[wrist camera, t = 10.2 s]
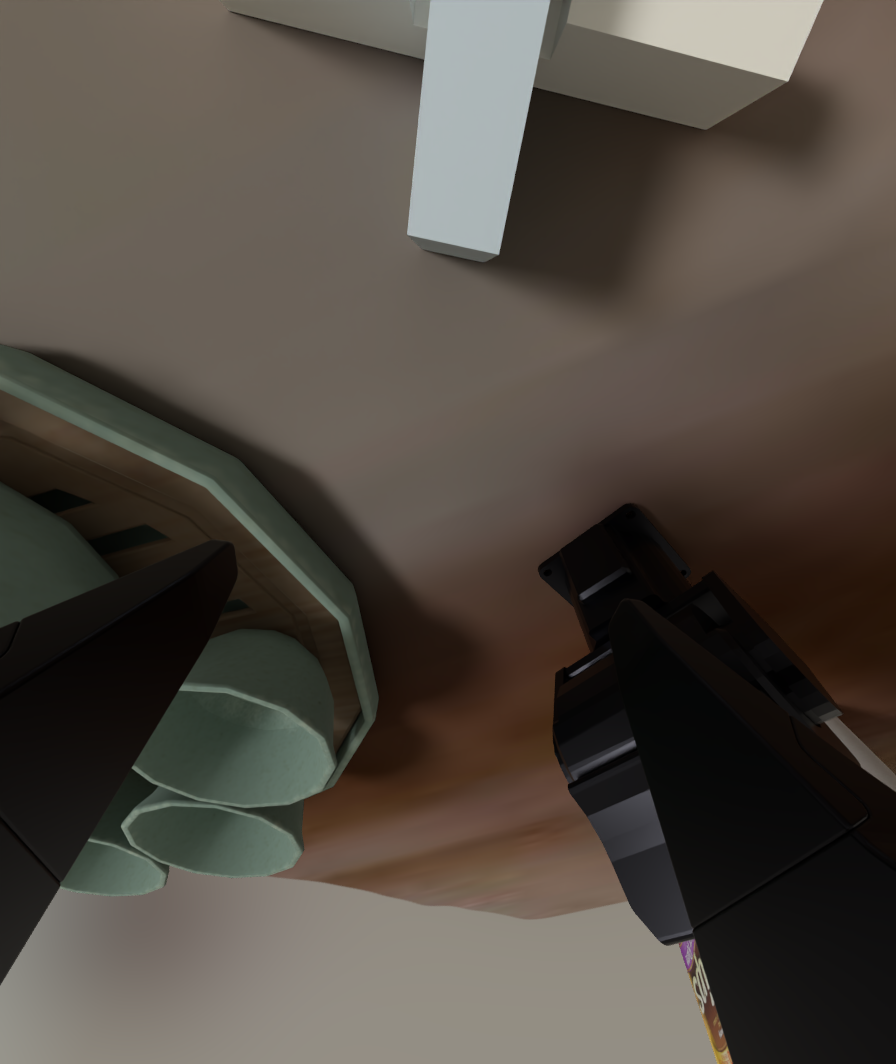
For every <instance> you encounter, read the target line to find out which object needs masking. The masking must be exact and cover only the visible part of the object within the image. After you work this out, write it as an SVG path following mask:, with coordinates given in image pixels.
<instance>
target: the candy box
mask: <svg viewBox="0 0 896 1064" xmlns="http://www.w3.org/2000/svg"><path fill="white" fill-rule="evenodd" d="M679 947H680V949H681V953H682V956H683V959H684V962H685V965H686V968H687V971H688V974H689V978H690V981H691V984H692V987H693V990H694V993H695V996H696V999H697V1002H698V1005H699V1008H700V1011H701V1014H702V1017H703V1020H704V1023H705V1027H706V1029H707V1033H708V1036H709V1039H710V1042H711V1045H712V1048H713V1051H714V1054H715V1058H716V1061H717V1064H733V1063H732V1060H731V1057H730V1053H729V1050H728V1047H727V1043H726V1040H725V1037H724V1034H723V1030H722V1027H721V1024H720V1020H719V1017H718V1014H717V1011H716V1007H715V1004H714V1001H713V997H712V994H711V991H710V988H709V984H708V981H707V978H706V974H705V971H704V968H703V965H702V961H701V958H700V955H699V951H698V948H697V945H696V942H695V939H694V940H690V941H686V942H681V943H679Z"/></svg>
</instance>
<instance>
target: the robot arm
mask: <svg viewBox="0 0 896 1064" xmlns="http://www.w3.org/2000/svg"><path fill="white" fill-rule="evenodd" d="M630 511H633V512H632V514H631V515H628V516H626V514H627V513H628V512H630ZM547 569H550V571H548V572H544V571H545V570H547ZM681 570H682V571H681ZM680 571H681V572H680ZM538 572H539V575H540V577H541V578H542V579H543V580H544V581H545V582H547V583H548V584H549V585H550V586H551V587H552V588H553V589H554V590H555V591H557V592H558V593H559V594H560V595H561V596H562V597H563V598H564V599H565V600H567V601H568V602H569V603H570V604H571V605H572V606H573V607H574V609H575V612H576V615H577V617H578V620H579V623H580V625H581V628H582V631H583V634H584V636H585V639H586V642H587V644H588V647H589V650H590V653H589V654H588V655H586V656H585V657H583V658H582V659H580V660H579V661H577V662H575V663H574V664H572V665H571V666H569V667H568V668H566V667H564V668H562V669H561V670H559V671H558V672H556V675H555V696H554V718H553V744H554V751H555V755H556V757H557V759H558V762H559V764H560V767H561V769H562V771H563V773H564V775H565V777H566V779H567V781H568V782H569V784H568V790H569V792H570V794H571V795H572V797H573V798H574V799H575V801H576V802H577V803H578V805H579V806H580V808H581V809H582V810H583V812H584V813H585V814H586V816H587V817H588V819H589V821H590V822H591V824H592V826H593V828H594V829H595V831H596V833H597V834H598V836H599V838H600V840H601V841H602V843H603V845H604V848H605V850H606V852H607V854H608V856H609V858H610V860H611V862H612V865H613V867H614V869H615V872H616V874H617V876H618V879H619V881H620V883H621V885H622V888H623V890H624V892H625V895H626V897H627V899H628V902H629V904H630V906H631V908H632V909H633V911H634V912H635V914H636V915H637V916H638V917H639V918H640V919H641V921H643V923H644V924H645V925H646V926H647V927H648V929H649V930H650V931H651V932H652V933H653V934H654V936H655V937H656V938H657V939H658V940H659V941H660V942H661V943H662V944H664V945H667V946H669V945H673V944H677V943H681V942H686V941H690V940H694V939H695V942H696V945H697V948H698V951H699V955H700V958H701V961H702V965H703V968H704V971H705V974H706V978H707V981H708V984H709V988H710V991H711V994H712V997H713V1001H714V1004H715V1007H716V1011H717V1014H718V1017H719V1020H720V1024H721V1027H722V1030H723V1034H724V1037H725V1040H726V1043H727V1047H728V1050H729V1053H730V1057H731V1060H732V1063H733V1064H896V792H895V791H894V790H893V789H891V788H890V787H888V786H887V785H885V784H884V783H883V782H881V781H880V780H878V779H877V778H876V777H874V776H873V775H871V774H870V773H869V772H867V771H866V770H864V769H863V768H862V767H861V765H860V763H859V761H858V760H857V759H856V757H855V756H854V755H853V754H852V753H851V751H850V750H849V749H848V748H847V747H846V746H845V745H844V743H843V742H842V741H841V740H840V739H839V738H838V737H837V735H836V734H835V733H834V732H833V731H832V730H831V729H830V728H829V726H828V725H827V724H826V723H825V722H826V721H828V720H831V719H833V718H835V717H838V716H840V715H842V714H843V712H842V711H841V709H840V708H839V707H838V705H837V704H836V703H835V702H834V700H833V699H832V698H831V696H830V695H829V694H828V692H827V691H826V690H825V689H824V687H823V686H822V685H821V683H820V682H819V681H818V680H817V678H816V677H815V676H814V674H813V673H812V672H811V670H810V669H809V668H808V667H807V665H806V664H805V663H804V662H803V661H802V660H801V659H800V658H799V657H798V656H797V655H796V654H795V652H794V651H793V650H792V649H791V648H790V647H789V646H788V645H787V644H786V643H785V642H784V641H783V640H782V639H781V637H780V636H779V635H778V634H777V633H776V632H775V631H774V630H773V629H772V628H771V627H770V626H769V625H768V624H767V623H766V622H765V621H764V620H763V619H762V618H761V617H760V616H759V615H758V614H757V613H756V612H755V611H754V610H753V609H752V608H751V607H750V606H749V605H748V604H747V603H746V602H745V601H744V600H743V599H742V598H741V597H740V596H739V595H738V594H737V593H736V592H735V591H734V590H733V589H732V588H731V587H729V586H728V585H727V584H726V583H725V582H724V581H723V580H722V579H721V578H720V577H719V576H718V575H717V574H716V573H715V572H714V571H711V572H710V573H708V574H707V575H705V576H704V577H702V579H703V580H702V581H701V582H699V583H698V584H696V585H694V586H693V587H692V586H691V585H690V584H689V583H688V581H687V580H686V578H687V577H688V576H689V575H690V573H691V570H690V568H689V567H688V566H687V565H686V563H685V562H684V561H683V560H682V559H681V558H680V556H679V555H678V554H677V553H676V552H675V551H674V549H673V548H672V547H671V546H670V545H669V544H668V542H667V541H666V540H665V539H664V538H663V537H662V535H661V534H660V533H659V532H658V531H657V530H656V528H655V527H654V526H653V525H652V524H651V522H650V521H649V520H648V519H647V518H646V517H645V515H644V514H643V513H642V512H641V511H640V510H639V508H638V507H637V506H636V505H634V504H631V503H629V504H625V505H623V506H622V507H621V508H619V509H618V510H616V511H615V512H613V513H612V514H611V515H609V516H608V517H606V518H605V519H604V520H602V521H601V522H599V523H598V524H596V525H594V526H593V527H591V528H590V529H589V530H587V531H586V532H584V533H583V534H581V535H580V536H579V537H577V538H576V539H574V540H573V541H572V542H570V543H569V544H567V545H566V546H565V547H563V548H562V549H561V550H560V551H559V552H557V553H556V554H554V555H553V556H552V557H550V558H549V559H547V560H546V561H544V562H543V563H542V564H541V565H540V566H539V567H538ZM237 577H238V568H237V560H236V553H235V547H234V545H233V543H232V542H230V541H223V540H217V539H212V540H209V541H207V542H204V543H202V544H199V545H197V546H195V547H192V548H190V549H187V550H185V551H183V552H180V553H178V554H176V555H173V556H171V557H168V558H166V559H164V560H161V561H159V562H156V563H154V564H152V565H149V566H147V567H144V568H142V569H140V570H137V571H135V572H133V573H130V574H128V575H125V576H123V577H121V578H118V579H116V580H113V581H111V582H109V583H106V584H104V585H101V586H99V587H97V588H94V589H92V590H89V591H87V592H85V593H82V594H80V595H78V596H75V597H73V598H70V599H68V600H66V601H63V602H61V603H58V604H56V605H54V606H51V607H49V608H46V609H44V610H42V611H39V612H37V613H35V614H32V615H30V616H27V617H25V618H23V619H22V620H21V622H19V621H15V622H13V623H10V624H8V625H6V626H3V627H1V628H0V985H1V983H2V982H3V980H4V978H5V977H6V975H7V973H8V972H9V970H10V968H11V967H12V965H13V964H14V962H15V960H16V959H17V957H18V955H19V954H20V952H21V950H22V949H23V947H24V945H25V944H26V942H27V940H28V939H29V937H30V935H31V934H32V932H33V931H34V928H35V927H36V926H37V924H38V922H39V921H40V919H41V917H42V916H43V914H44V912H45V911H46V909H47V908H48V906H49V904H50V903H51V901H52V899H53V898H54V896H55V894H56V893H57V891H58V889H59V888H60V886H61V884H60V882H62V881H63V880H64V879H65V877H66V876H67V874H68V872H69V871H70V869H71V867H72V866H73V864H74V862H75V861H76V859H77V857H78V856H79V854H80V853H81V851H82V849H83V848H84V846H85V844H86V843H87V841H88V839H89V838H90V836H91V834H92V833H93V831H94V829H95V828H96V826H97V825H98V823H99V821H100V820H101V818H102V816H103V815H104V813H105V811H106V810H107V808H108V806H109V805H110V803H111V801H112V800H113V798H114V797H115V795H116V793H117V792H118V790H119V788H120V787H121V785H122V783H123V782H124V780H125V778H126V777H127V775H128V773H129V772H130V770H131V769H132V767H133V765H134V764H135V762H136V760H137V759H138V757H139V755H140V754H141V752H142V750H143V749H144V747H145V745H146V744H147V742H148V741H149V739H150V737H151V736H152V734H153V732H154V731H155V729H156V727H157V726H158V724H159V722H160V721H161V719H162V717H163V716H164V714H165V713H166V711H167V709H168V708H169V706H170V704H171V703H172V701H173V699H174V698H175V696H176V694H177V693H178V691H179V689H180V688H181V686H182V685H183V683H184V681H185V680H186V678H187V676H188V675H189V673H190V671H191V670H192V668H193V666H194V665H195V663H196V661H197V660H198V658H199V657H200V655H201V653H202V652H203V650H204V648H205V646H206V645H207V643H208V641H209V639H210V637H211V635H212V633H213V631H214V629H215V627H216V625H217V622H218V620H219V618H220V616H221V614H222V612H223V609H224V607H225V605H226V603H227V601H228V598H229V596H230V594H231V592H232V590H233V587H234V585H235V583H236V581H237Z"/></svg>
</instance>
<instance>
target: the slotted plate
mask: <svg viewBox="0 0 896 1064" xmlns="http://www.w3.org/2000/svg"><path fill="white" fill-rule="evenodd" d="M549 4H550V0H430V9H429V20H428V30H427V40H426V50H425V60H424V70H423V80H422V90H421V100H420V111H419V121H418V131H417V141H416V151H415V161H414V171H413V181H412V191H411V202H410V212H409V222H408V232H407V235H408V236H409V237H410V238H411V239H412V240H413V241H414V242H415V243H416V244H417V245H418V246H419V247H420V248H421V249H423V250H428V251H432V252H437V253H442V254H446V255H451V256H455V257H460V258H465V259H469V260H474V261H479V262H483V263H484V262H486V261H488V260H490V259H492V258H494V257H496V256H498V255H499V252H500V247H501V242H502V237H503V232H504V227H505V222H506V217H507V212H508V207H509V202H510V197H511V192H512V187H513V182H514V178H515V173H516V168H517V163H518V158H519V153H520V148H521V143H522V138H523V133H524V128H525V123H526V118H527V113H528V108H529V103H530V98H531V93H532V88H533V83H534V78H535V74H536V69H537V64H538V59H539V54H540V49H541V44H542V39H543V34H544V29H545V24H546V19H547V14H548V9H549Z"/></svg>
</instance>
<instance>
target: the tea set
mask: <svg viewBox="0 0 896 1064" xmlns="http://www.w3.org/2000/svg"><path fill="white" fill-rule="evenodd" d="M212 539H217V540H223V541H230V542H232V543H233V545H234V547H235V553H236V560H237V568H238V577H237V581H236V583H235V585H234V587H233V590H232V592H231V594H230V596H229V598H228V601H227V603H226V605H225V607H224V609H223V612H222V614H221V616H220V618H219V620H218V622H217V625H216V627H215V629H214V631H213V633H212V635H211V637H210V639H209V641H208V643H207V645H206V646H205V648H204V650H203V652H202V653H201V655H200V657H199V658H198V660H197V661H196V663H195V665H194V666H193V668H192V670H191V671H190V673H189V675H188V676H187V678H186V680H185V681H184V683H183V685H182V686H181V688H180V689H179V691H178V693H177V694H176V696H175V698H174V699H173V701H172V703H171V704H170V706H169V708H168V709H167V711H166V713H165V714H164V716H163V717H162V719H161V721H160V722H159V724H158V726H157V727H156V729H155V731H154V732H153V734H152V736H151V737H150V739H149V741H148V742H147V744H146V745H145V747H144V749H143V750H142V752H141V754H140V755H139V757H138V759H137V760H136V762H135V764H134V765H133V767H132V769H131V770H130V772H129V773H128V775H127V777H126V778H125V780H124V782H123V783H122V785H121V787H120V788H119V790H118V792H117V793H116V795H115V797H114V798H113V800H112V801H111V803H110V805H109V806H108V808H107V810H106V811H105V813H104V815H103V816H102V818H101V820H100V821H99V823H98V825H97V826H96V828H95V829H94V831H93V833H92V834H91V836H90V838H89V839H88V841H87V843H86V844H85V846H84V848H83V849H82V851H81V853H80V854H79V856H78V857H77V859H76V861H75V862H74V864H73V866H72V867H71V869H70V871H69V872H68V874H67V876H66V877H65V879H64V880H63V881H62V882H60V884H61V886H60V888H61V889H65V890H69V891H73V892H78V893H87V894H95V895H104V896H128V895H143V894H146V893H149V892H151V891H154V890H157V889H160V888H162V887H164V886H165V885H166V882H167V878H168V873H169V865H170V866H173V867H176V868H179V869H183V870H186V871H189V872H192V873H198V874H205V875H213V876H221V877H229V878H238V877H239V878H240V877H258V876H269V875H272V874H275V873H278V872H280V871H283V870H286V869H289V868H292V867H293V866H294V865H295V863H296V862H297V860H298V859H299V857H300V856H301V854H302V853H303V851H304V844H303V837H302V821H303V807H304V799H305V798H308V797H310V796H312V795H315V794H317V793H320V792H322V791H324V790H327V789H329V788H331V787H333V786H334V785H335V783H336V782H337V780H338V778H339V777H340V775H341V774H342V772H343V770H344V769H345V767H346V766H347V764H348V762H349V761H350V759H351V758H352V756H353V754H354V753H355V751H356V750H357V748H358V746H359V745H360V743H361V742H362V740H363V738H364V737H365V735H366V734H367V732H368V730H369V729H370V727H371V726H372V724H373V722H374V721H375V718H376V712H377V706H378V701H379V696H378V691H377V687H376V682H375V678H374V673H373V669H372V664H371V659H370V655H369V650H368V646H367V641H366V637H365V632H364V628H363V623H362V619H361V614H360V610H359V605H358V601H357V596H356V593H355V590H354V587H353V584H352V583H351V582H350V581H349V580H348V578H347V577H346V576H345V575H344V574H343V573H342V572H341V571H340V570H339V569H338V567H337V566H336V565H335V564H334V563H333V562H332V561H331V560H330V559H329V558H328V556H327V555H326V554H325V553H324V552H323V551H322V550H321V549H320V548H319V547H318V545H317V544H316V543H315V542H314V541H313V540H312V539H311V538H310V537H309V536H308V535H307V533H306V532H305V531H304V530H303V529H302V528H301V527H300V526H299V525H298V524H297V522H296V521H295V520H294V519H293V518H292V517H291V516H290V515H289V514H288V513H287V511H286V510H285V509H284V508H283V507H282V506H281V505H280V504H279V503H278V502H277V500H276V499H275V498H274V497H273V496H272V495H271V494H270V493H269V492H268V491H267V489H266V488H265V487H264V486H263V485H262V484H261V483H260V482H259V481H258V480H257V478H256V477H255V476H254V475H253V474H252V473H251V472H250V471H249V470H248V469H247V467H246V466H245V465H244V464H243V463H242V462H241V461H240V460H239V459H238V458H236V457H234V456H232V455H230V454H228V453H226V452H224V451H222V450H220V449H218V448H216V447H214V446H212V445H210V444H208V443H206V442H204V441H202V440H200V439H198V438H196V437H194V436H192V435H190V434H188V433H186V432H184V431H182V430H180V429H178V428H176V427H175V426H173V425H171V424H169V423H167V422H165V421H163V420H161V419H159V418H157V417H155V416H153V415H151V414H149V413H147V412H145V411H143V410H141V409H139V408H137V407H135V406H133V405H131V404H129V403H127V402H125V401H123V400H121V399H119V398H117V397H115V396H113V395H111V394H109V393H108V392H106V391H104V390H102V389H100V388H98V387H96V386H94V385H92V384H90V383H88V382H86V381H84V380H82V379H80V378H78V377H76V376H74V375H72V374H70V373H68V372H66V371H64V370H62V369H60V368H58V367H56V366H54V365H52V364H50V363H48V362H46V361H44V360H42V359H41V358H39V357H37V356H35V355H33V354H31V353H29V352H25V351H22V350H18V349H15V348H11V347H8V346H5V345H1V344H0V628H1V627H3V626H6V625H8V624H10V623H13V622H15V621H19V622H21V620H22V619H23V618H25V617H27V616H30V615H32V614H35V613H37V612H39V611H42V610H44V609H46V608H49V607H51V606H54V605H56V604H58V603H61V602H63V601H66V600H68V599H70V598H73V597H75V596H78V595H80V594H82V593H85V592H87V591H89V590H92V589H94V588H97V587H99V586H101V585H104V584H106V583H109V582H111V581H113V580H116V579H118V578H121V577H123V576H125V575H128V574H130V573H133V572H135V571H137V570H140V569H142V568H144V567H147V566H149V565H152V564H154V563H156V562H159V561H161V560H164V559H166V558H168V557H171V556H173V555H176V554H178V553H180V552H183V551H185V550H187V549H190V548H192V547H195V546H197V545H199V544H202V543H204V542H207V541H209V540H212Z"/></svg>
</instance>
